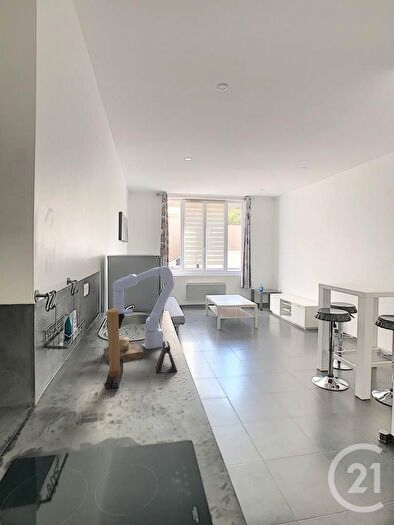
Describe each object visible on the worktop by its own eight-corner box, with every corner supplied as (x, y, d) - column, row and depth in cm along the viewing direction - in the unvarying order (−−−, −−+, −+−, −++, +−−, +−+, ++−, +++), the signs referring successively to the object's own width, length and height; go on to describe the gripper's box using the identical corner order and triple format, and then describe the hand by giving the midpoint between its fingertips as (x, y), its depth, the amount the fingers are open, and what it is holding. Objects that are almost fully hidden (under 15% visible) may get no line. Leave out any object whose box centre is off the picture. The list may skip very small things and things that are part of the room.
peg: (129, 353, 150) (129, 337, 150) (127, 356, 145) (127, 340, 145) (119, 352, 150) (119, 337, 150) (116, 356, 145) (116, 340, 145)
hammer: (118, 396, 111) (115, 321, 105) (104, 397, 111) (100, 322, 104) (124, 366, 131) (122, 301, 124) (112, 366, 130) (109, 301, 123)
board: (135, 348, 158) (135, 343, 158) (143, 357, 146) (143, 351, 145) (103, 353, 150) (103, 347, 150) (109, 363, 138) (109, 356, 138)
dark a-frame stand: (175, 366, 134) (175, 340, 134) (177, 372, 129) (177, 344, 128) (155, 368, 133) (155, 341, 132) (156, 373, 127) (156, 345, 126)
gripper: (130, 300, 166) (130, 324, 166) (103, 302, 159) (103, 327, 159) (133, 302, 159) (133, 327, 160) (105, 304, 153) (105, 331, 153)
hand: (118, 328), depth 159 cm, fingers closed
